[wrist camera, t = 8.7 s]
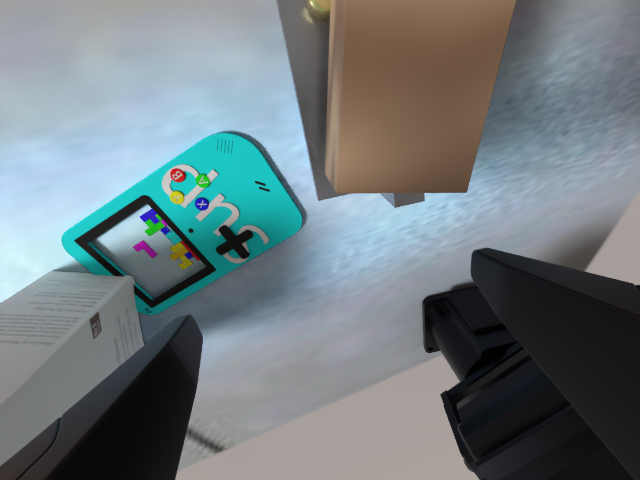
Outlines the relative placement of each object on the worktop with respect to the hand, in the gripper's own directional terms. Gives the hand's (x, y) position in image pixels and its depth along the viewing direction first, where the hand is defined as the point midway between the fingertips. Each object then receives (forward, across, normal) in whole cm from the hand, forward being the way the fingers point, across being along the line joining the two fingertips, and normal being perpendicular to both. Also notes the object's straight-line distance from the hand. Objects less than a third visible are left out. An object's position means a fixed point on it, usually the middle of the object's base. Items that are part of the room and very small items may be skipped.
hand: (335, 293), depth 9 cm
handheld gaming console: (+13, +9, +1) cm, 16 cm away
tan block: (+8, -5, -6) cm, 12 cm away
